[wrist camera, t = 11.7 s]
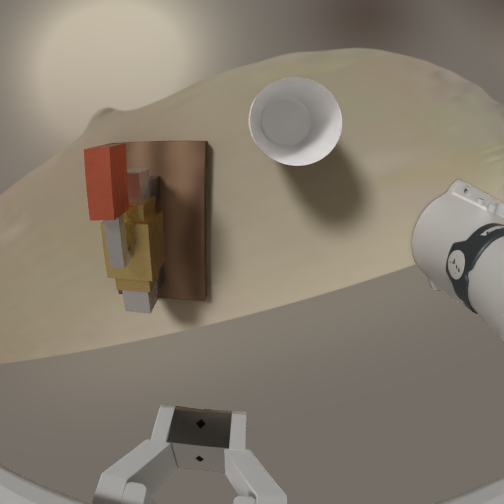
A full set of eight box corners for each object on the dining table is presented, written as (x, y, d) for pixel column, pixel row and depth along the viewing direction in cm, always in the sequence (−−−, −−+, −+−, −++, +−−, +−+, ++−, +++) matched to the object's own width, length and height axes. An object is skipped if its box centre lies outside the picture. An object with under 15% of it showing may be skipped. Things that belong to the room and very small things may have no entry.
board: (207, 140, 40) (205, 141, 38) (206, 295, 49) (205, 300, 47) (109, 143, 40) (105, 144, 38) (122, 289, 48) (119, 293, 47)
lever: (137, 261, 35) (122, 280, 31) (115, 260, 35) (99, 278, 31) (128, 142, 30) (109, 146, 26) (105, 144, 30) (84, 149, 26)
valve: (167, 164, 39) (145, 174, 32) (171, 287, 46) (156, 319, 38) (125, 165, 39) (96, 176, 31) (134, 284, 46) (114, 314, 38)
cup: (258, 161, 41) (259, 176, 30) (243, 95, 37) (238, 84, 26) (325, 149, 40) (351, 159, 29) (312, 83, 36) (333, 69, 25)
